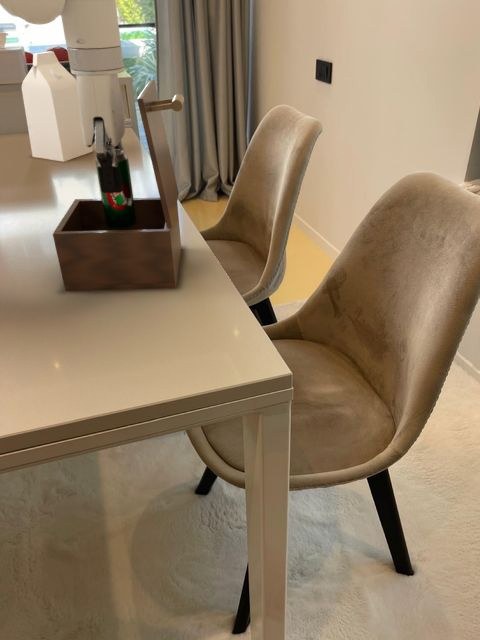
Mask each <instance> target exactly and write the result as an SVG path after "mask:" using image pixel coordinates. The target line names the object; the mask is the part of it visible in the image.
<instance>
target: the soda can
mask: <svg viewBox="0 0 480 640" xmlns="http://www.w3.org/2000/svg"><path fill="white" fill-rule="evenodd" d="M107 152H109V153H110V154H111V150H107ZM116 160H117V166H119V168H120V175H121V182H122V189H123V190H122V192H120V193H103V192H102V191H101V185H100V179H99V173H98V166H97V157H96V158H95V167H96V173H97V179H98V185H99V191H100V196H101V197H100V199H102V204H103V210H104V216H105V222H106V225H107V226H108V227H110V228H111V229H115V230H123V229H128V228H131V227H133V226H134V224H135V223H136V214H135V206H134V199H133V198H134V193H133V185H132V177H131V170H130V161H129V157H128V156H127V155H126V151H125V150H124V149H123V150H121V149H116Z"/></svg>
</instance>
